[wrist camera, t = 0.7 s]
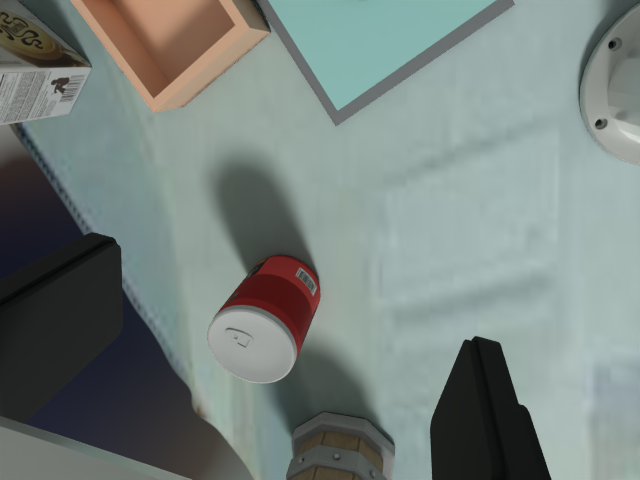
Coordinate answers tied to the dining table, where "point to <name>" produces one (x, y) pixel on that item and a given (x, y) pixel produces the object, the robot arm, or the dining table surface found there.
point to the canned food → (265, 320)
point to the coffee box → (35, 68)
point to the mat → (467, 28)
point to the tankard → (340, 450)
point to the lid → (367, 37)
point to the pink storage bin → (174, 42)
